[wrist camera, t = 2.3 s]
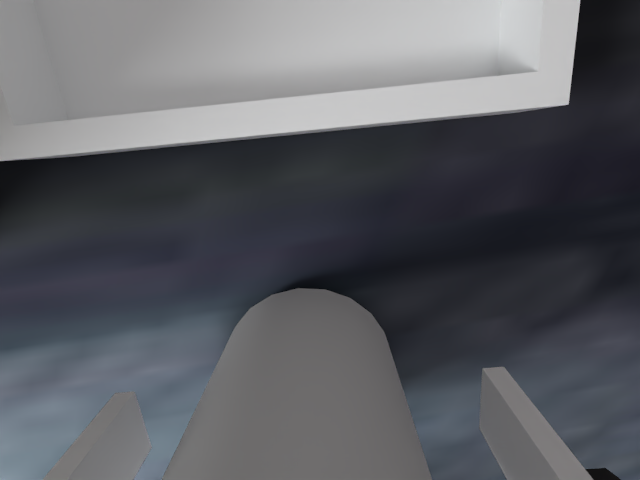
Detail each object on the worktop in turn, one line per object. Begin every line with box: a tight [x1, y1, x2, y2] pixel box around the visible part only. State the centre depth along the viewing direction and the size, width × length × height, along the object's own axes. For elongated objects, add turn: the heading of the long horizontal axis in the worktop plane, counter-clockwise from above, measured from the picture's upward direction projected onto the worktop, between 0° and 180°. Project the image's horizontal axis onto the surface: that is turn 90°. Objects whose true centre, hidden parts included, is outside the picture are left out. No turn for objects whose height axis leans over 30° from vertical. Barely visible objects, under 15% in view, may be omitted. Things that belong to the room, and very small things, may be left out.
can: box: [162, 288, 432, 480], centre depth 10 cm, size 8×8×12 cm
